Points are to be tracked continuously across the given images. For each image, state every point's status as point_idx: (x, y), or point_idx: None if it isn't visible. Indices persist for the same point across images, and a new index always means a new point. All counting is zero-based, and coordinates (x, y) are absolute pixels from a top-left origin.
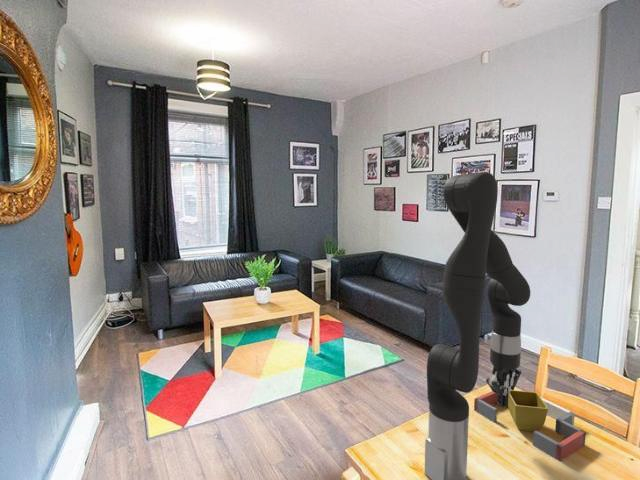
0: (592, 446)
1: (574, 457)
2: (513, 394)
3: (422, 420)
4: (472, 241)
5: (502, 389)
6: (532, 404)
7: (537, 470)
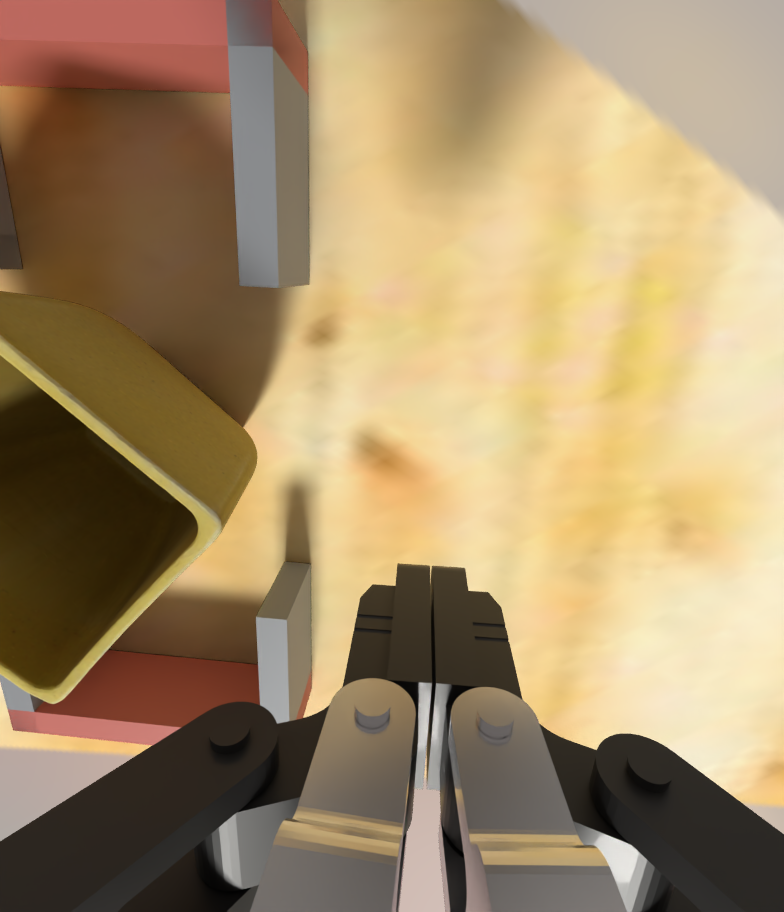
0: None
1: None
2: (34, 637)
3: None
4: None
5: (411, 810)
6: None
7: (557, 102)
